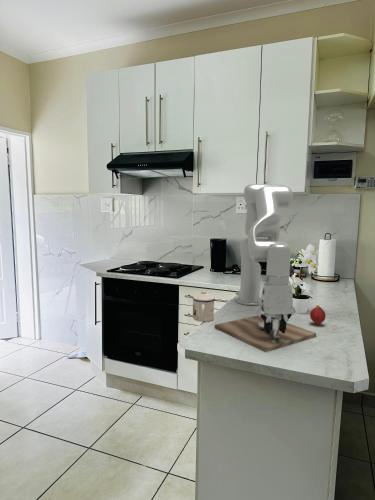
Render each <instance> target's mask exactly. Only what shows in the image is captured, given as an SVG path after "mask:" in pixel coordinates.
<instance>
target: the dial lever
mask: <svg viewBox="0 0 375 500" xmlns="http://www.w3.org/2000/svg"><path fill="white" fill-rule="evenodd" d="M279 320H280V319H279V316H274V315H273V316H271V317H270V323H271V328H270V334H269V336H270V337H271V338H274V339H275V340H277V341H281V338H280V337H279V336H278V335H279ZM259 328H260V329H264V322H259Z"/></svg>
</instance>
